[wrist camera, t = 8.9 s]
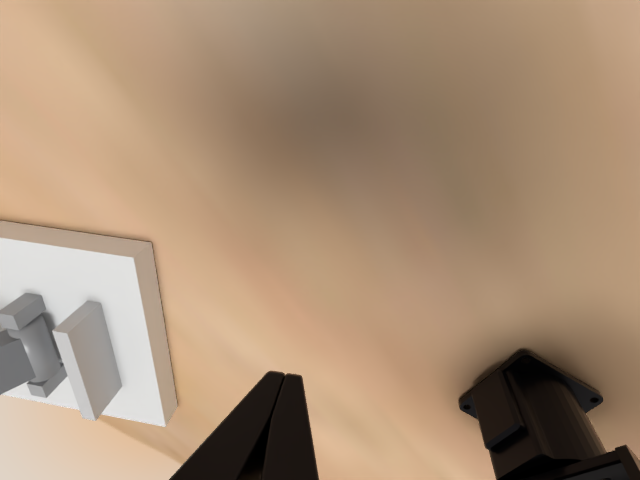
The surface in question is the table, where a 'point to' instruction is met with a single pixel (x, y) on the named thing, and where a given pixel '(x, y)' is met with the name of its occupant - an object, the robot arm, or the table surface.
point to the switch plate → (90, 320)
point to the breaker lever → (27, 355)
